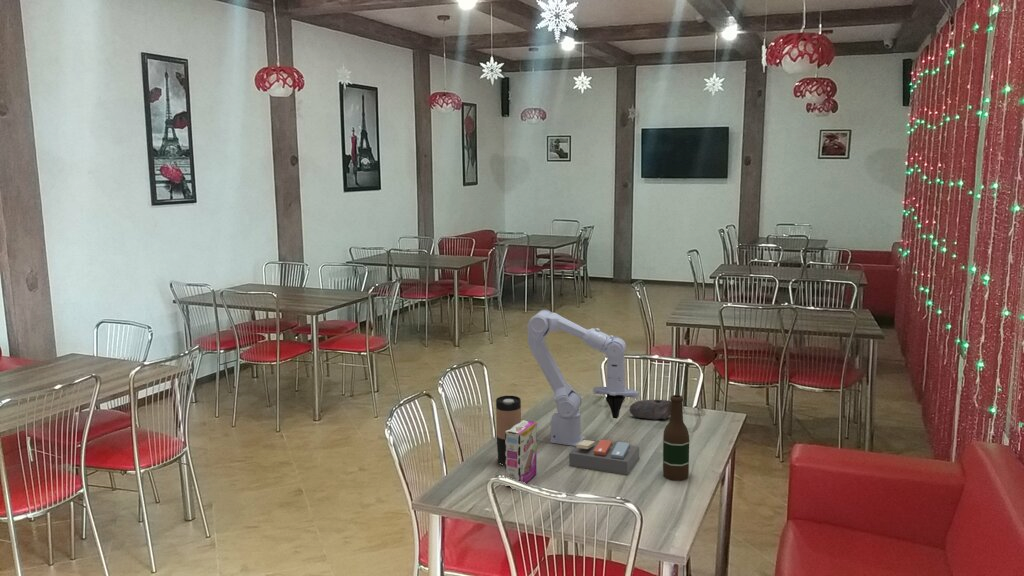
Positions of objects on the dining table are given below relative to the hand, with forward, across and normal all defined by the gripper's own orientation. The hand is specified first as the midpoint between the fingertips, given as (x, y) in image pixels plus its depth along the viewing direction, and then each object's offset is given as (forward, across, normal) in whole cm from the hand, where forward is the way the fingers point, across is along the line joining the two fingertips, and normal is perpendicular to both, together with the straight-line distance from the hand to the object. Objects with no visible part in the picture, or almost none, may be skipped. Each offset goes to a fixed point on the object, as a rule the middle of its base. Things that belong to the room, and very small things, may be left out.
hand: (615, 417), depth 242 cm
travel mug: (+10, -26, -25) cm, 37 cm away
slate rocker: (+5, +6, -16) cm, 18 cm away
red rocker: (+5, +1, -16) cm, 17 cm away
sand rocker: (+5, -4, -16) cm, 17 cm away
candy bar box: (+10, -17, -36) cm, 41 cm away
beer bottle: (+10, +23, -16) cm, 30 cm away
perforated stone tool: (+10, +4, +29) cm, 31 cm away
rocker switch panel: (+9, +1, -14) cm, 17 cm away
